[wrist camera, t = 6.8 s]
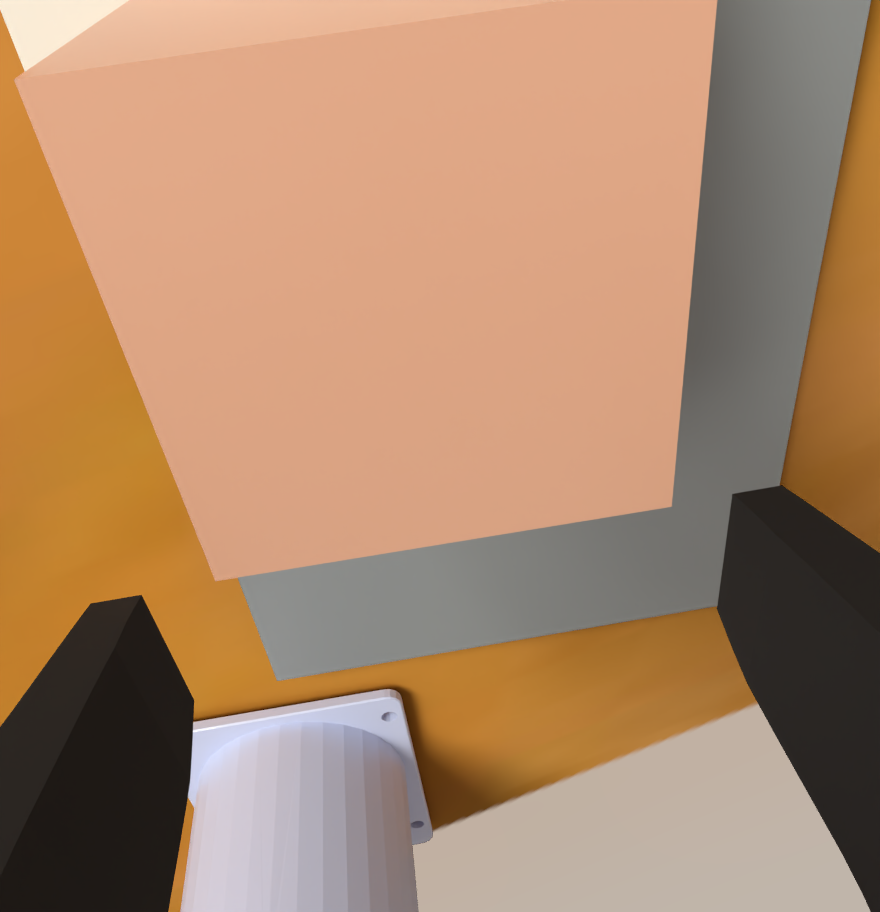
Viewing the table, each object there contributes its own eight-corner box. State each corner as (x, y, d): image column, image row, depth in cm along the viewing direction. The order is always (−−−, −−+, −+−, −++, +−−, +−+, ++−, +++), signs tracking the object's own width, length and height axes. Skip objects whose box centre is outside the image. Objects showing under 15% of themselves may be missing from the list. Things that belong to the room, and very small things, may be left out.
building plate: (747, 580, 25) (758, 599, 25) (278, 660, 25) (277, 680, 24) (892, -261, 13) (921, -267, 12) (-17, -131, 13) (-35, -130, 12)
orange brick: (569, 319, 12) (671, 506, 9) (247, 369, 12) (215, 580, 8) (565, -65, 9) (718, -23, 6) (136, -4, 9) (14, 79, 5)
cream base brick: (580, 263, 17) (659, 384, 13) (213, 322, 17) (179, 462, 13) (578, -219, 12) (699, -259, 8) (63, -145, 12) (-64, -152, 8)
